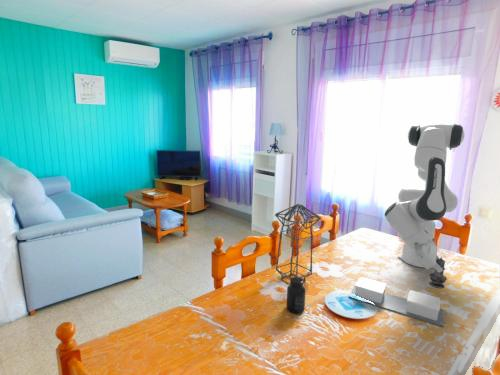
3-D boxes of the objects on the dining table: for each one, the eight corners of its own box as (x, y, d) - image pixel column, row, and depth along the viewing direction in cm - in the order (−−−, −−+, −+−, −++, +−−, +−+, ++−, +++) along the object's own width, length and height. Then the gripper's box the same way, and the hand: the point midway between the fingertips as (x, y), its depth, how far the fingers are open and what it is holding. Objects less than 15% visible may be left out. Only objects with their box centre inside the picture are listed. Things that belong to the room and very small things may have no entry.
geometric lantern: (268, 278, 141) (272, 202, 135) (293, 269, 151) (298, 198, 145) (293, 292, 129) (299, 210, 123) (318, 283, 139) (325, 206, 133)
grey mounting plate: (355, 285, 137) (357, 274, 136) (443, 310, 120) (445, 298, 119) (348, 297, 127) (349, 285, 126) (443, 327, 110) (445, 313, 109)
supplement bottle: (305, 306, 120) (307, 277, 118) (302, 316, 114) (304, 286, 111) (288, 302, 122) (289, 274, 120) (284, 312, 116) (286, 282, 114)
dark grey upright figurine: (447, 289, 121) (453, 261, 118) (431, 288, 122) (436, 259, 119) (441, 282, 126) (446, 254, 124) (426, 280, 128) (430, 253, 125)
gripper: (421, 244, 115) (448, 275, 112) (425, 228, 132) (449, 255, 129) (406, 252, 118) (432, 283, 115) (412, 236, 135) (435, 262, 132)
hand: (441, 268), depth 122 cm, fingers closed on dark grey upright figurine, 3 cm apart
